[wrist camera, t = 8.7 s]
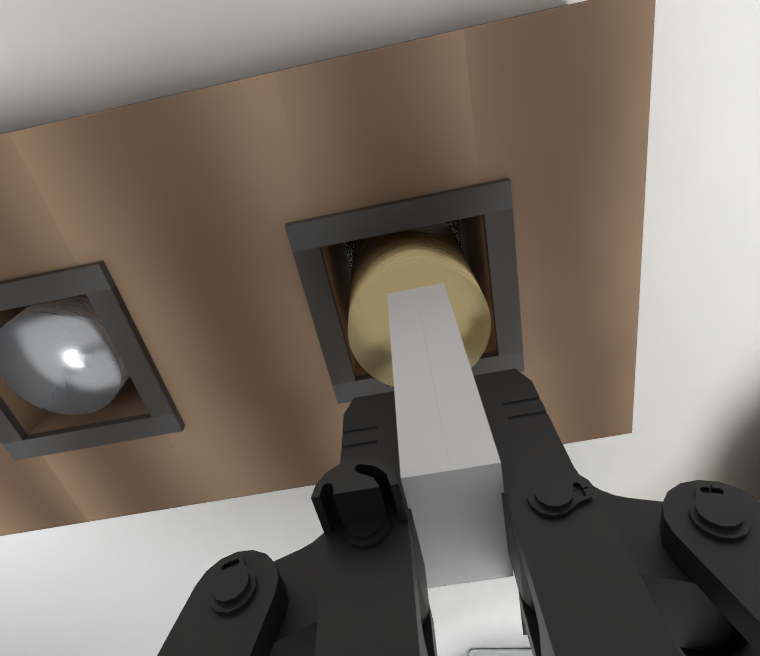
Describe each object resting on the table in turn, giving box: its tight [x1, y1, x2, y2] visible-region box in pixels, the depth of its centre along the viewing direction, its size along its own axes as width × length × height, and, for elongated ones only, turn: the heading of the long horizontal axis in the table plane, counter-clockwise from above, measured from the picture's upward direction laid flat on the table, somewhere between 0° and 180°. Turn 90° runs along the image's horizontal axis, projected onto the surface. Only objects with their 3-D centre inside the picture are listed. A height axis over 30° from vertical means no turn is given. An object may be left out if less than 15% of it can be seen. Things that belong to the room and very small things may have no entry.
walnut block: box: [0, 0, 655, 536], centre depth 19 cm, size 26×14×6 cm, turn 101°
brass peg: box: [348, 222, 491, 387], centre depth 17 cm, size 4×4×6 cm
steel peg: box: [0, 294, 130, 415], centre depth 19 cm, size 4×4×6 cm
